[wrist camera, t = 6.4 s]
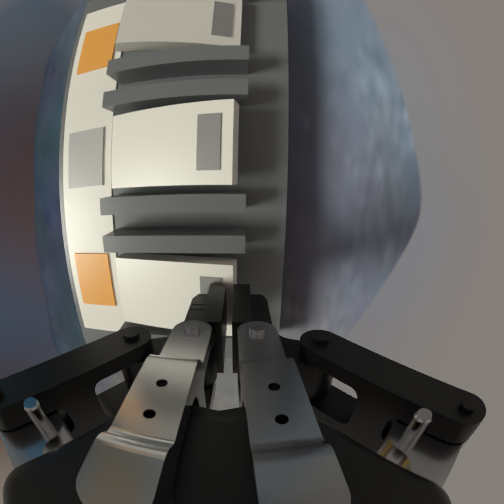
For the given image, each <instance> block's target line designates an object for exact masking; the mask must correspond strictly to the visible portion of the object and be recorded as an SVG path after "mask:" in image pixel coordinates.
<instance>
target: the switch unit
mask: <svg viewBox="0 0 504 504" xmlns="http://www.w3.org/2000/svg"><path fill="white" fill-rule="evenodd" d="M125 3H126V0H91V1H89V2H88V3H87V6H86V8H85V11H84V14H83V17H82V20H81V24H80V27H79V30H78V34H77V37H76V41H75V45H74V49H73V53H72V57H71V62H70V66H69V71H68V77H67V82H66V88H65V95H64V102H63V111H62V120H61V133H60V153H59V187H60V207H61V220H62V230H63V239H64V247H65V254H66V260H67V266H68V272H69V277H70V283H71V287H72V292H73V297H74V301H75V305H76V309H77V313H78V317H79V321H80V325H81V328H82V332H83V335H84V338H85V342H86V344H88V343H91V342H93V341H95V340H98V339H100V338H102V337H105V336H107V335H109V334H112V333H114V332H116V331H119V330H121V329H124V328H127V327H142V328H145V329H147V330H148V331H149V332H150V334H151V339H153V338H162V337H167V336H170V334H171V332H172V330H173V329H168V328H161V327H155V326H149V325H143V324H137V323H132V322H126V321H125V316H124V311H123V306H122V300H121V295H120V289H119V282H118V275H117V268H116V260H115V258H116V257H117V256H119V255H121V254H123V253H145V254H162V255H179V256H197V257H215V258H234V259H237V284H250V293H251V294H261V295H263V296H264V297H265V298H266V299H267V302H268V307H269V312H270V316H271V321H272V325H273V326H275V327H276V329H277V331H278V334H279V328H280V315H281V301H282V286H283V269H284V251H285V231H286V208H287V178H288V129H289V69H288V24H287V0H242V18H241V40H240V45H222V46H199V47H186V48H176V49H168V50H138V51H120V52H116V45H115V42H116V38H117V33H118V29H119V25H120V21H121V17H122V13H123V10H124V6H125ZM224 99H235V101H236V102H237V103H238V104H239V132H238V184H236V185H171V186H145V187H127V188H112V183H111V156H112V129H113V116H117V115H121V114H126V113H130V112H135V111H140V110H145V109H151V108H156V107H162V106H169V105H176V104H183V103H191V102H201V101H211V100H224ZM225 357H233V356H232V336H226V344H225Z"/></svg>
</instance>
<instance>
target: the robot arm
mask: <svg viewBox="0 0 504 504" xmlns="http://www.w3.org/2000/svg"><path fill="white" fill-rule="evenodd" d="M226 332H227V305H226V284H210V287H209V290H208V294H198V295H196V296H195V297H194V298H192V301H191V304H190V307H189V310H188V312H187V315H186V317H185V320H184V321H183V322H181V323H178V324H177V325H176V326H174V328H173V330H172V332H171V334H170V336H167V337H162V338H153V339H151V334H150V332H149V331H148V330H147V329H145V328H142V327H127V328H124V329H121V330H119V331H116V332H114V333H112V334H109V335H107V336H105V337H102V338H100V339H98V340H95V341H93V342H91V343H88V344H86V345H84V346H81V347H79V348H76V349H74V350H72V351H69V352H67V353H64V354H62V355H60V356H57V357H55V358H52V359H50V360H48V361H45V362H43V363H40V364H38V365H35V366H33V367H30V368H28V369H26V370H23V371H20V372H18V373H15V374H13V375H10V376H8V377H5V378H3V379H0V433H1V436H2V439H3V442H4V445H5V448H6V451H7V453H8V456H9V458H10V461H11V464H12V466H13V468H14V470H13V471H12V472H11V473H10V474H9V476H8V477H7V479H6V481H5V484H4V488H3V502H4V504H451V501H450V499H449V497H448V495H447V494H446V492H445V491H444V490H443V489H442V486H443V485H444V483H445V481H446V479H447V477H448V475H449V473H450V471H451V469H452V467H453V465H454V462H455V460H456V458H457V456H458V454H459V451H460V449H461V448H462V446H463V445H464V444H465V443H466V441H467V440H468V439H469V438H470V436H471V435H472V434H473V433H474V431H475V430H476V429H477V427H478V426H479V424H480V423H481V422H482V420H483V419H484V417H485V415H486V407H485V405H484V403H483V401H482V400H481V399H480V398H479V397H478V396H476V395H474V394H472V393H470V392H467V391H465V390H462V389H459V388H456V387H454V386H452V385H449V384H447V383H444V382H442V381H439V380H437V379H435V378H432V377H430V376H427V375H425V374H423V373H420V372H418V371H416V370H413V369H411V368H408V367H406V366H404V365H401V364H399V363H397V362H395V361H393V360H390V359H388V358H386V357H383V356H381V355H379V354H377V353H374V352H372V351H370V350H368V349H366V348H364V347H361V346H359V345H357V344H355V343H353V342H351V341H348V340H346V339H344V338H342V337H340V336H338V335H336V334H334V333H331V332H329V331H324V330H311V331H307V332H305V333H304V334H302V335H301V337H300V341H299V340H292V339H287V338H284V337H282V336H280V335H279V334H278V331H277V329H276V327H275V326H273V325H272V321H271V316H270V312H269V307H268V302H267V299H266V298H265V297H264V296H263V295H261V294H251V293H250V284H234V293H233V310H232V356H233V373H238V396H239V408H234V409H228V410H221V411H217V410H212V406H213V400H214V394H215V389H216V382H215V380H216V378H217V373H223V372H224V358H225V344H226ZM120 370H122V372H123V376H124V379H125V381H123V382H122V383H120V384H118V385H116V386H114V387H112V388H110V389H108V390H106V391H104V392H102V393H100V394H99V395H96V393H95V386H96V384H97V383H98V382H99V381H100V380H102V379H104V378H106V377H108V376H110V375H112V374H114V373H116V372H118V371H120ZM333 377H334V378H336V379H338V380H339V381H341V382H343V383H345V384H347V385H348V386H350V387H352V388H353V389H354V390H355V391H356V393H357V399H356V398H354V397H352V396H350V395H348V394H347V393H345V392H343V391H341V390H339V389H338V388H336V387H334V386H332V385H331V383H332V378H333Z"/></svg>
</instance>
